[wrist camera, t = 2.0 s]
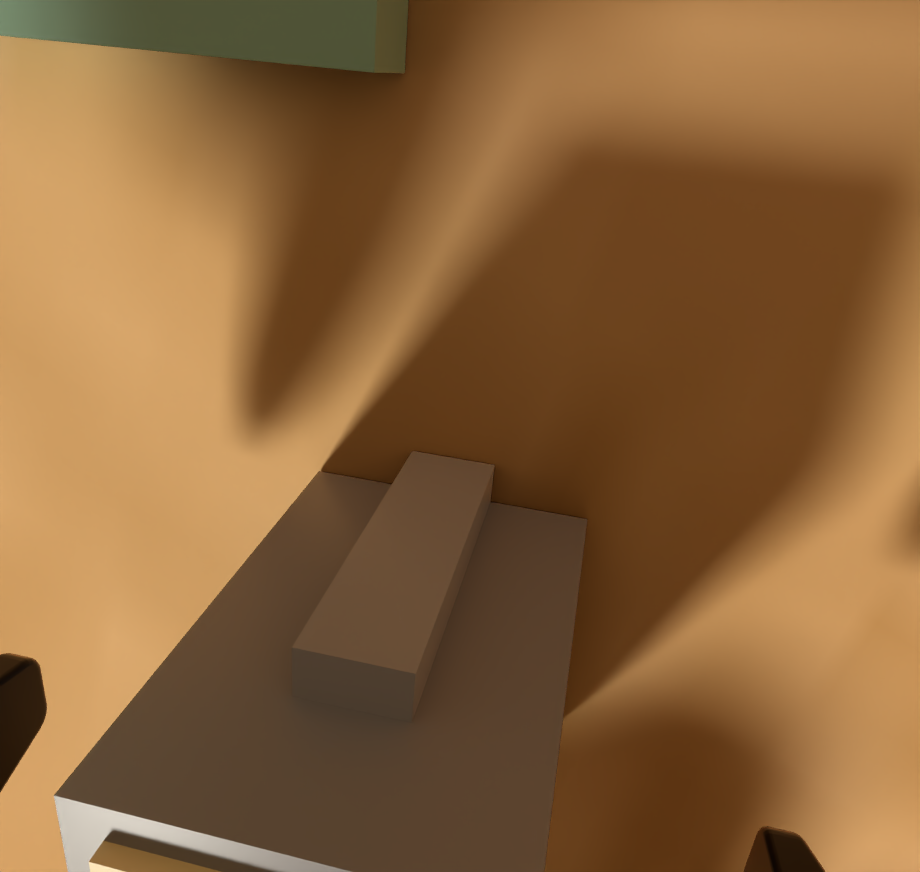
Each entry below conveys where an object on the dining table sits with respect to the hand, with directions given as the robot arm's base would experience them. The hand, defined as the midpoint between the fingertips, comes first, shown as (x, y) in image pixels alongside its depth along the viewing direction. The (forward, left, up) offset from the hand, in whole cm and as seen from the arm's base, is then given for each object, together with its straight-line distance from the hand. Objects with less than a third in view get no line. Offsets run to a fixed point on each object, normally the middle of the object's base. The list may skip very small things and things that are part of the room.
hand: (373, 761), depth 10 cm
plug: (0, 0, -3) cm, 3 cm away
